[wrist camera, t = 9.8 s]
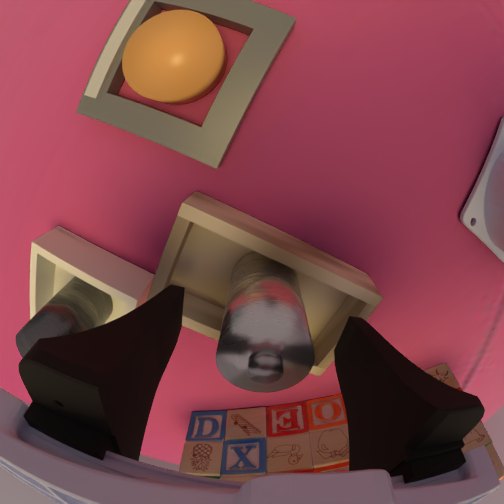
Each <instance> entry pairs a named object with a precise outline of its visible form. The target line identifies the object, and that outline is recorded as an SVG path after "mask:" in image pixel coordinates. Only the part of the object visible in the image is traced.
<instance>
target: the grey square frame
mask: <svg viewBox="0 0 504 504" xmlns="http://www.w3.org/2000/svg"><path fill="white" fill-rule="evenodd" d="M161 10H167V11H171V10H190V11H194V12H197V13H200V14H202V15H204V16H205V17H207V18H208V19H209V20H210V21H212V22H213V23H216V24H219V25H222V26H225V27H228V28H231V29H234V30H237V31H240V32H242V33H245V34H248V35H250V36H249V38H248V40H247V42H246V43H245V45H244V47H243V48H242V50H241V52H240V54H239V55H238V57H237V59H236V61H235V63H234V64H233V66H232V68H231V70H230V72H229V74H228V75H227V77H226V79H225V81H224V83H223V85H222V87H221V89H220V91H219V93H218V94H217V96H216V98H215V100H214V102H213V104H212V106H211V108H210V110H209V112H208V115H207V117H206V119H205V121H204V123H203V125H202V126H200V125H197V124H195V123H192V122H190V121H187V120H185V119H182V118H180V117H177V116H175V115H172V114H170V113H167V112H164V111H162V110H159V109H156V108H154V107H151V106H148V105H145V104H143V103H140V102H137V101H134V100H131V99H128V98H125V97H122V96H119V95H118V93H119V90H120V88H121V86H122V84H123V81H124V79H125V77H124V74H123V69H122V58H123V52H124V49H125V46H126V44H127V42H128V40H129V39H130V37H131V35H132V34H133V33H134V32H135V30H136V29H137V28H138V27H139V26H140V25H142V24H143V23H144V22H145V21H147V20H148V19H150V18H152V17H153V16H155V15H158V14H159V13H160V12H161ZM295 22H296V18H294V17H292V16H289V15H287V14H285V13H282V12H280V11H277V10H275V9H272V8H270V7H267V6H264V5H261V4H259V3H256V2H253V1H250V0H130V1H129V3H128V4H127V6H126V8H125V9H124V11H123V13H122V14H121V16H120V18H119V19H118V21H117V23H116V25H115V27H114V28H113V30H112V32H111V34H110V36H109V38H108V40H107V42H106V44H105V46H104V48H103V50H102V52H101V54H100V56H99V58H98V60H97V62H96V64H95V67H94V69H93V71H92V73H91V76H90V78H89V80H88V83H87V85H86V88H85V90H84V93H83V95H82V98H81V101H80V103H79V106H78V109H77V112H76V113H79V114H82V115H85V116H88V117H91V118H93V119H96V120H99V121H102V122H104V123H107V124H110V125H112V126H115V127H118V128H120V129H123V130H125V131H128V132H131V133H133V134H136V135H138V136H141V137H143V138H146V139H148V140H151V141H153V142H156V143H158V144H160V145H163V146H165V147H168V148H170V149H172V150H175V151H177V152H179V153H182V154H184V155H186V156H189V157H191V158H193V159H196V160H198V161H200V162H202V163H205V164H207V165H209V166H211V167H214V168H216V169H217V168H218V167H220V166H221V164H222V161H223V159H224V157H225V155H226V153H227V151H228V149H229V147H230V145H231V143H232V141H233V139H234V137H235V135H236V133H237V131H238V129H239V127H240V125H241V123H242V121H243V119H244V117H245V115H246V113H247V111H248V109H249V107H250V105H251V103H252V101H253V99H254V97H255V96H256V94H257V92H258V90H259V88H260V86H261V84H262V82H263V81H264V79H265V77H266V75H267V73H268V71H269V70H270V68H271V66H272V64H273V62H274V61H275V59H276V57H277V55H278V54H279V52H280V50H281V48H282V47H283V45H284V43H285V42H286V40H287V38H288V36H289V35H290V33H291V31H292V30H293V28H294V26H295Z"/></svg>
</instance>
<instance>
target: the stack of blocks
mask: <svg viewBox="0 0 504 504" xmlns="http://www.w3.org/2000/svg"><path fill="white" fill-rule="evenodd" d="M423 371H425V372H426V373H428V374H429V375H431V376H433V377H434V378H436V379H438V380H439V381H441V382H443V383H445V384H447V385H449V386H451V387H454V388H456V389H458V390H461V391H463V390H462V389H461V388H460V385H459V383H458V381H457V380H456V378H455V376H454V375H453V373H452V372H451V370H450V369H449V367H448V366H447V364H446V363H443V364H440V365H438V366H435V367H432V368H429V369H426V370H423ZM463 441H464V444H465V446H464V447H463V448H461V450H462V452H463V453H465V452H467V451H468V450H471V449H474V448H477V447H479V446H482V445H484V446H485V448H486V450H487V452H488V455H489V457H490V459H491V461H492V464H493V466H494V468H495V471H496V473H497V476H498V478H499V481H500V480H501V479H502V478H503V477H504V466H503V464H502V462H501V460H500V458H499V456H498V454H497V452H496V450H495V448H494V446H493V444H492V440H491V438H490V436H489V435H488V433H487V431H486V429H485V427H484V425H483V423H482V421H481V420H480V422H479V423H478V424H477V425H476V426H475V427H474V428H473V429H472V430H471V431H470V432H469V433H468V434H467V435H466V436H465V437H464V438H463ZM345 471H349V435H348V423H347V415H346V409H345V405H344V401H343V397H342V394H336V395H333V396H329V397H323V398H318V399H313V400H308V401H305V402H297V403H290V404H284V405H277V406H270V407H267V408H266V407H258V408H248V409H236V410H228V411H226V410H220V411H203V412H192V414H191V418H190V423H189V427H188V432H187V436H186V442H185V444H184V449H183V453H182V458H181V463H180V468H179V472H182V473H187V474H192V475H197V476H203V477H209V478H215V479H222V480H229V481H237V482H248V481H249V480H251V479H252V478H254V477H257V476H262V475H267V474H272V473H326V472H345Z"/></svg>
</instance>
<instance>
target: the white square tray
mask: <svg viewBox="0 0 504 504" xmlns="http://www.w3.org/2000/svg"><path fill="white" fill-rule="evenodd" d="M75 276H76V277H78V278H80V279H82V280H83V281H85V282H87V283H89V284H91V285H93V286H94V287H96V288H98V289H100V290H102V291H104V292H106V293H107V294H109V295H111V298H112V302H113V311H112V314H111V315H110V317H109V318H108V319H107V321H106V322H105V324H106V323H108V322H110V321H113V320H115V319H117V318H119V317H121V316H123V315H125V314H127V313H129V312H130V311H132V310H134V309H135V308H137V307H139V306H140V305H142V304H143V303H145V302H146V300H147V296H148V293H149V290H150V287H151V285H152V282H153V279H154V276H155V275H154V274H152V273H150V272H148V271H146V270H144V269H142V268H140V267H138V266H136V265H134V264H132V263H130V262H128V261H126V260H124V259H122V258H120V257H118V256H116V255H114V254H112V253H110V252H108V251H106V250H104V249H102V248H100V247H98V246H96V245H94V244H92V243H90V242H88V241H87V240H85V239H83V238H81V237H79V236H77V235H75V234H74V233H72V232H70V231H68V230H66V229H64V228H63V227H61V226H57V227H55V228H54V229H52V230H50V231H49V232H47V233H45V234H44V235H42V236H40V237H39V238H37V239H35V240H34V241H32V247H31V263H30V319H32V317H33V316H34V315H35V314H36V313H37V312H38V311H39V310H40V309H41V308H42V307H43V306H44V305H45V304H46V303H47V302H48V301H49V300H50V299H51V298H52V297H53V296H55V295H56V294H57V293H58V292H59V291H60V290H61V289H62V288H63V287H64V286H65V285H66V284H67V283H68V282H69V281H70V280H71V279H73V278H74V277H75Z"/></svg>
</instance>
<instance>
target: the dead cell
mask: <svg viewBox="0 0 504 504" xmlns="http://www.w3.org/2000/svg"><path fill="white" fill-rule="evenodd" d="M112 311H113V302H112V298H111V295H109V294H107V293H106V292H104V291H102V290H100V289H98V288H96V287H94V286H93V285H91V284H89V283H87V282H85V281H83V280H82V279H80V278H78V277H76V276H75V277H74V278H73V279H71V280H70V281H69V282H68V283H67V284H66V285H65V286H64V287H63V288H62V289H61V290H60V291H59V292H58V293H57V294H56V295H55V296H53V297H52V298H51V299H50V300H49V301H48V302H47V303H46V304H45V305H44V306H43V307H42V308H41V309H40V310H39V311H38V312H37V313H36V314H35V315H34V316H33V317H32V319H31V320H30V321H29V322H28V323H27V324H26V325H25V326H24V327H23V328H22V329H21V330H20V331H19V332H18V333H17V335H16V344H17V348H18V350H19V352H20V354H21V356H22V357H24V356H25V355H26V354H27V352H28V351H29V350H30V349H31V348H32V346H33V345H34V344H35V343H36V342H37V341H38V340H39V339H40V338H49V337H57V336H64V335H69V334H73V333H78V332H82V331H85V330H89V329H91V328H94V327H97V326H100V325H103V324H105V322H106V321H107V319H108V318H109V317H110V315H111V314H112Z"/></svg>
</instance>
